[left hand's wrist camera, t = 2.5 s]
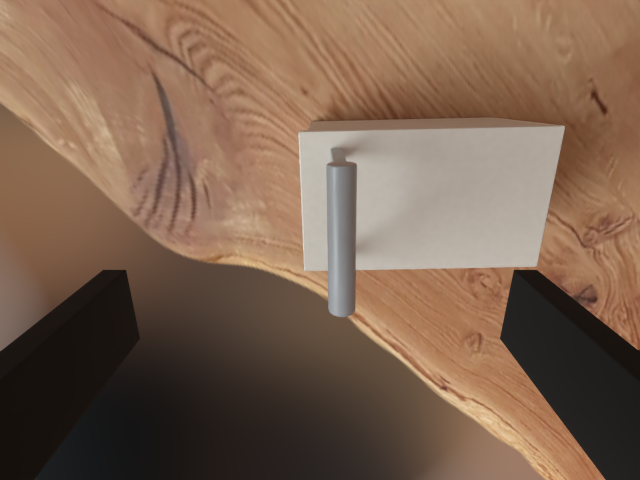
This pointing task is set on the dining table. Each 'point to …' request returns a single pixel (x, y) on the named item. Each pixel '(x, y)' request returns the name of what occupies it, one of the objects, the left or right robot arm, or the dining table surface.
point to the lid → (423, 199)
